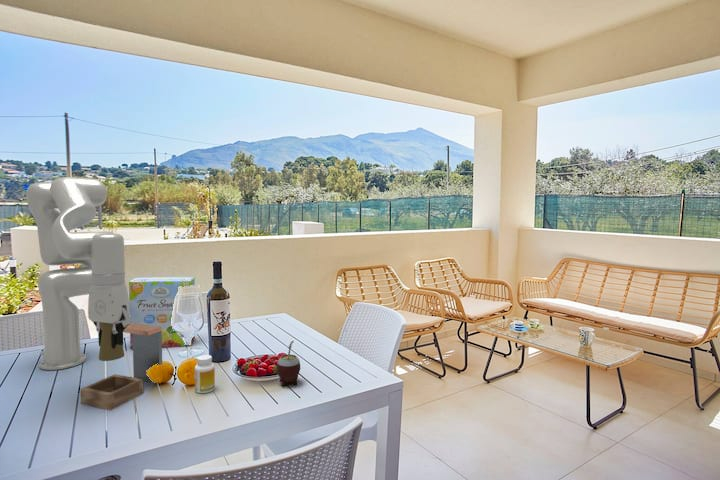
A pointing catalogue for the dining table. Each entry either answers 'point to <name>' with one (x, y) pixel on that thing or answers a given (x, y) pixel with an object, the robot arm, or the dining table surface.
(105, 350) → the cork
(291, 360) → the mate gourd
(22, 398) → the dining table surface
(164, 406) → the dining table surface
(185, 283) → the snack box
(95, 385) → the socket block
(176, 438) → the dining table surface
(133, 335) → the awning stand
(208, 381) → the supplement bottle
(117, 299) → the robot arm
